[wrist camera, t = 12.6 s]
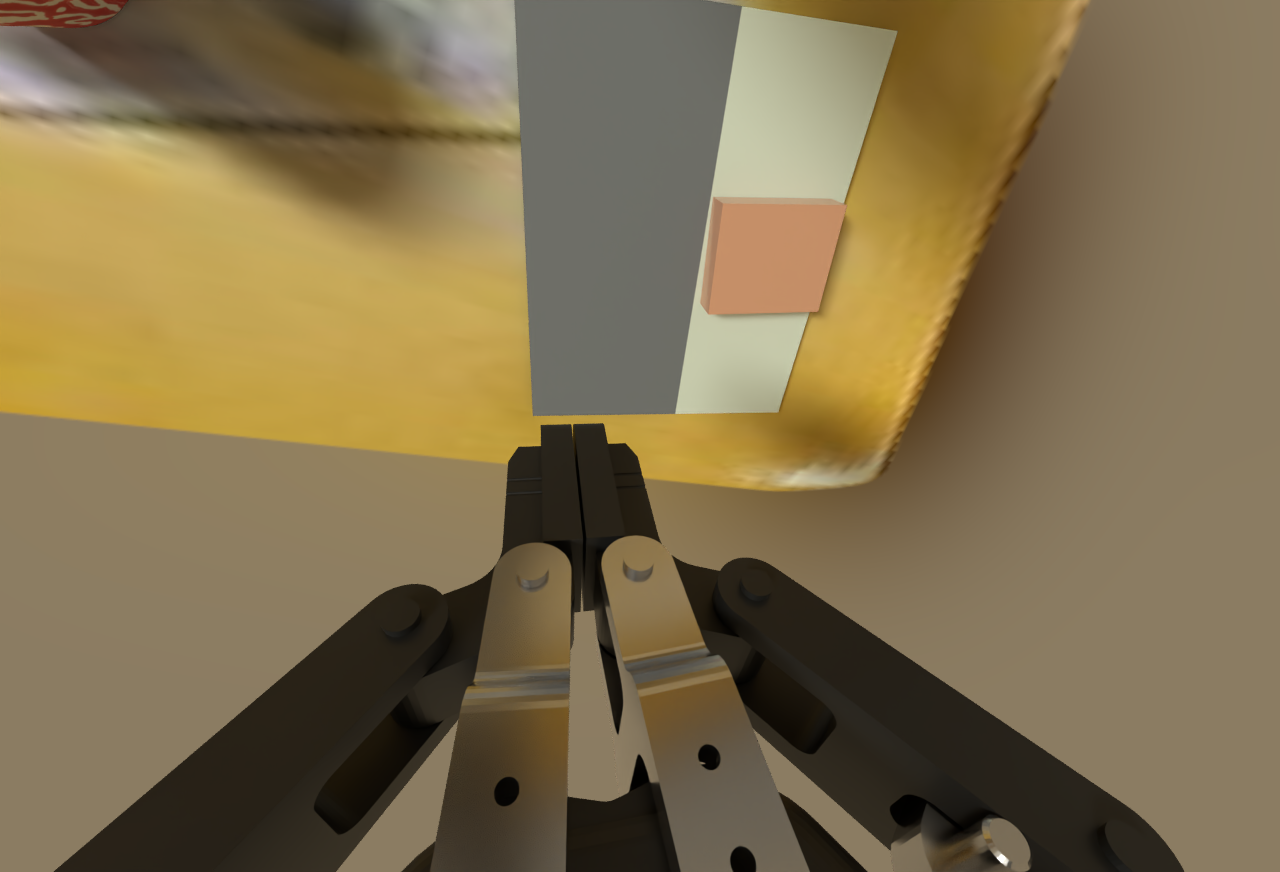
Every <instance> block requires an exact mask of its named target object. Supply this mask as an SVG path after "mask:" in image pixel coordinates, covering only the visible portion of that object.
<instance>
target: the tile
mask: <svg viewBox="0 0 1280 872" xmlns="http://www.w3.org/2000/svg"><path fill="white" fill-rule="evenodd" d="M846 208H847V205H846V204H843V203H841V202H838V201H836V200H833V199H825V198H758V197H713V201H712V209H711V218H710V226H709V234H708V243H707V251H706V260H705V268H704V276H703V285H702V293H701V301H700V304H701V305H702V307H703V308H704V309H705V311H706V312H707V313H708V315H714V314H752V313H791V312H818V310H819V306H820V303H821V299H822V295H823V292H824V288H825V284H826V281H827V277H828V274H829V270H830V266H831V263H832V259H833V255H834V252H835V248H836V244H837V241H838V237H839V233H840V230H841V226H842V222H843V219H844V215H845V211H846Z"/></svg>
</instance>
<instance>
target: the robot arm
mask: <svg viewBox="0 0 1280 872" xmlns="http://www.w3.org/2000/svg"><path fill="white" fill-rule="evenodd" d="M581 588H582V598H583V610H584V611H591V610H595V619H596V628H597V632H596V650H597V656H598V661H599V666H600V672H601V677H602V683H603V688H604V693H605V698H606V704H607V709H608V715H609V720H610V726H611V730H612V736H613V744H614V754H615V769H616V777H617V785H618V791H619V798H617V799H615V800H612V801H608V802H601V801H594V800H587V799H579V798H573V797H568V752H569V751H568V750H569V697H570V695H569V694H570V650H571V648H572V645H573V640H574V612H580V608H581ZM458 719H459V720H458ZM457 720H458V725H457V731H456V736H455V741H454V747H453V752H452V758H451V763H450V768H449V773H448V779H447V784H446V789H445V795H444V800H443V805H442V810H441V816H440V821H439V827H438V832H437V837H436V841H435V842H434V843H433V844H432V845H430V846H429V847H428V848H427V849H426V850H424V851H423V852H422V853H420V854H419V855H418V856H417V857H416V858H415V859H414V860H413V861H412V862H411V863H410V864H409V865H408V866H407V867H406V868H405V869H404V870H403V871H402V872H867V871H866V870H865V869H864V868H863V867H862V866H861V865H860V864H859V863H858V862H857V861H856V860H855V859H854V858H853V857H852V856H851V855H850V854H849V853H848V852H847V851H846V850H845V849H844V848H843V847H842V846H841V845H840V844H839V843H838V842H837V841H836V840H835V839H834V838H833V837H832V836H831V835H830V834H829V833H828V832H827V831H825V829H824V828H823V827H822V826H821V825H820V824H819V823H818V822H817V821H815V820H814V819H813V818H812V817H811V816H810V815H809V814H808V813H807V812H806V811H805V810H804V809H802V808H801V807H799V806H798V805H797V804H796V803H795V802H793V801H792V800H790V799H789V798H788V797H786V796H784V795H783V794H781V793H779V792H778V790H777V788H776V786H775V783H774V780H773V778H772V776H771V773H770V771H769V768H768V765H767V763H766V760H765V758H764V755H763V753H762V750H761V748H760V745H759V743H758V740H757V738H756V735H755V733H754V730H755V731H756V732H758V733H759V734H760V735H761V736H762V737H763V738H764V739H765V740H767V741H768V742H769V743H770V744H771V745H772V746H773V747H774V748H776V749H777V750H778V751H779V752H780V753H781V754H782V755H783V756H785V757H786V758H787V759H788V760H789V761H790V762H791V763H792V764H793V765H795V766H796V767H797V768H798V769H799V770H800V771H801V772H802V773H804V774H805V775H806V776H807V777H808V778H809V779H811V781H813V782H814V783H815V784H816V785H817V786H818V787H819V788H821V789H822V790H823V791H824V792H825V793H826V794H827V795H828V796H829V797H831V798H832V799H833V800H834V801H835V802H836V803H837V804H838V805H840V806H841V807H842V808H843V809H844V810H845V811H846V812H847V813H849V814H850V815H851V816H852V817H853V818H854V819H856V820H857V821H858V822H859V823H860V824H861V825H862V826H863V827H864V828H866V829H867V830H868V831H869V832H870V833H871V834H872V835H873V836H874V837H876V838H877V839H878V840H879V841H880V842H881V843H882V844H883V845H885V846H886V847H887V848H888V849H889V850H890V851H891V861H892V866H893V871H894V872H1184V870H1183V868H1182V866H1181V865H1180V863H1179V861H1178V860H1177V858H1176V857H1175V855H1174V853H1173V852H1172V851H1171V849H1170V848H1169V847H1168V845H1167V844H1166V843H1165V842H1164V840H1163V839H1162V838H1161V837H1160V836H1159V835H1158V834H1157V832H1156V831H1155V830H1154V829H1153V828H1152V827H1151V826H1150V825H1149V824H1148V823H1147V822H1146V821H1145V820H1143V819H1142V818H1141V817H1140V816H1139V815H1138V814H1137V813H1135V812H1134V811H1133V810H1131V809H1130V808H1129V807H1127V806H1126V805H1125V804H1123V803H1121V802H1120V801H1119V800H1117V799H1116V798H1114V797H1112V796H1111V795H1110V794H1108V793H1107V792H1105V791H1104V790H1102V789H1101V788H1100V787H1098V786H1097V785H1095V784H1094V783H1092V782H1090V781H1089V780H1088V779H1086V778H1085V777H1083V776H1082V775H1080V774H1079V773H1077V772H1076V771H1074V770H1073V769H1071V768H1070V767H1069V766H1067V765H1066V764H1064V763H1063V762H1061V761H1060V760H1058V759H1057V758H1055V757H1054V756H1052V755H1051V754H1049V753H1047V752H1046V751H1045V750H1043V749H1042V748H1040V747H1039V746H1038V745H1036V744H1035V743H1033V742H1032V741H1030V740H1029V739H1027V738H1026V737H1024V736H1023V735H1021V734H1020V733H1018V732H1017V731H1015V730H1014V729H1012V728H1011V727H1009V726H1008V725H1007V724H1005V723H1003V722H1002V721H1001V720H999V719H998V718H996V717H995V716H993V715H992V714H990V713H989V712H987V711H986V710H984V709H983V708H981V707H980V706H978V705H977V704H975V703H974V702H973V701H971V700H970V699H968V698H967V697H965V696H964V695H962V694H961V693H959V692H958V691H956V690H955V689H953V688H952V687H950V686H949V685H947V684H946V683H944V682H943V681H941V680H940V679H939V678H937V677H935V676H934V675H933V674H931V673H930V672H928V671H927V670H925V669H923V668H922V667H921V666H919V665H918V664H916V663H915V662H913V661H912V660H911V659H909V658H908V657H906V656H905V655H903V654H902V653H900V652H899V651H897V650H896V649H894V648H893V647H891V646H890V645H888V644H887V643H885V642H884V641H882V640H881V639H880V638H878V637H877V636H875V635H873V634H872V633H871V632H869V631H868V630H866V629H865V628H863V627H862V626H860V625H859V624H857V623H856V622H854V621H853V620H851V619H850V618H848V617H847V616H845V615H844V614H843V613H841V612H839V611H838V610H837V609H835V608H834V607H832V606H831V605H829V604H828V603H826V602H825V601H823V600H822V599H820V598H819V597H817V596H816V595H814V594H813V593H812V592H810V591H808V590H807V589H806V588H804V587H802V586H801V585H800V584H798V583H797V582H795V581H794V580H792V579H791V578H789V577H788V576H786V575H785V574H783V573H782V572H781V571H779V570H778V569H776V568H775V567H773V566H771V565H770V564H768V563H766V562H764V561H761V560H758V559H753V558H738V559H734V560H732V561H730V562H728V563H727V564H725V565H724V566H723V568H722V569H721V571H717V570H712V569H707V568H703V567H698V566H693V565H690V564H687V563H684V562H682V561H680V560H678V559H677V558H675V557H674V556H672V555H671V554H670V552H669V551H668V550H667V549H666V548H665V546H664V545H662V543H661V542H660V539H659V536H658V533H657V529H656V525H655V521H654V517H653V514H652V510H651V506H650V502H649V499H648V495H647V491H646V489H645V484H644V479H643V476H642V472H641V468H640V464H639V460H638V457H637V456H636V454H635V453H634V452H633V451H632V450H631V449H630V448H629V447H628V446H627V444H626V443H620V444H608V443H607V437H606V432H605V427H604V424H603V423H600V424H573V436H572V427H571V424H564V425H541V446H533V447H518V448H517V450H516V451H515V453H514V454H513V456H512V457H511V459H510V460H509V462H508V474H507V489H506V505H505V519H504V535H503V548H502V553H501V556H500V559H499V561H498V562H497V564H496V565H495V566H494V568H493V569H492V570H491V571H490V572H489V573H488V574H487V575H486V576H484V577H483V578H481V579H480V580H478V581H477V582H475V583H473V584H470V585H468V586H465V587H463V588H460V589H457V590H454V591H452V592H449V593H446V594H444V595H442V594H441V593H440V592H439V591H437V590H436V589H434V588H432V587H430V586H426V585H421V584H409V585H404V586H400V587H396V588H393V589H391V590H389V591H386V592H384V593H383V594H381V595H379V596H378V597H377V598H375V599H374V600H373V601H371V602H370V603H369V604H368V605H367V606H366V607H364V608H363V609H362V610H361V611H360V612H358V613H357V614H356V615H355V616H354V617H353V618H351V619H350V620H349V621H348V622H347V623H345V624H344V625H343V626H342V627H341V628H340V629H339V630H337V631H336V632H335V633H334V634H333V635H331V636H330V637H329V638H328V639H327V640H326V641H324V642H323V643H322V644H321V645H320V646H319V647H318V648H316V649H315V650H314V651H313V652H311V653H310V654H309V655H308V656H307V657H306V658H305V659H303V660H302V661H301V662H300V663H298V664H297V665H296V666H295V667H294V668H293V669H291V670H290V671H289V672H288V673H287V674H285V675H284V676H283V677H282V678H281V679H280V680H278V681H277V682H276V683H275V684H274V685H273V686H271V687H270V688H269V689H268V690H267V691H266V692H264V693H263V694H262V695H261V696H260V697H259V698H257V699H256V700H255V701H254V702H253V703H251V704H250V705H249V706H248V707H247V708H245V709H244V710H243V711H242V712H241V713H240V714H238V715H237V716H236V717H235V718H234V719H233V720H231V721H230V722H229V723H228V724H227V725H226V726H224V727H223V728H222V729H221V730H220V731H218V732H217V733H216V734H215V735H214V736H213V737H211V738H210V739H209V740H208V741H207V742H206V743H204V744H203V745H202V746H201V747H200V748H198V749H197V750H196V751H195V752H194V753H193V754H191V755H190V756H189V757H188V758H187V759H186V760H185V761H183V762H182V763H181V764H180V765H178V766H177V767H176V768H175V769H174V770H173V771H171V772H170V773H169V774H168V775H167V776H166V777H164V778H163V779H162V780H161V781H160V782H158V783H157V784H156V785H155V786H154V787H153V788H151V789H150V790H149V791H148V792H147V793H146V794H144V795H143V796H142V797H141V798H140V799H138V800H137V801H136V802H135V803H134V804H133V805H131V806H130V807H129V808H128V809H127V810H126V811H125V812H123V813H122V814H121V815H120V816H119V817H117V818H116V819H115V820H114V821H113V822H112V823H110V824H109V825H108V826H107V827H106V828H104V829H103V830H102V831H101V832H100V833H98V834H97V835H96V836H95V837H94V838H93V839H91V840H90V841H89V842H88V843H87V844H86V845H84V847H82V848H81V849H80V850H78V851H77V852H76V853H75V854H74V855H73V856H71V857H70V858H69V859H68V860H67V861H66V862H64V863H63V864H62V865H61V866H60V867H58V868H57V869H56V870H55V871H54V872H336V871H337V870H338V868H339V867H340V866H341V865H342V863H343V862H344V861H345V860H346V859H347V857H348V856H349V855H350V854H351V852H352V851H353V850H354V849H355V847H356V846H357V845H358V843H359V842H360V841H361V840H362V839H363V837H364V836H365V835H366V834H367V832H368V831H369V830H370V829H371V827H372V826H373V825H374V824H375V822H376V821H377V820H378V819H379V817H380V816H381V815H382V814H383V812H384V811H385V810H386V808H387V807H388V806H389V805H390V804H391V802H392V801H393V800H394V799H395V797H396V796H397V795H398V794H399V793H400V791H401V790H402V789H403V788H404V786H405V785H406V784H407V783H408V781H409V780H410V779H411V778H412V776H413V775H414V774H415V773H416V771H417V770H418V769H419V768H420V766H421V765H422V764H423V763H424V761H425V760H426V759H427V757H428V756H429V755H430V754H431V753H432V751H433V750H434V749H435V748H436V746H437V745H438V744H439V743H440V741H441V740H442V739H443V738H444V736H445V735H446V734H447V733H448V732H449V730H450V729H451V728H452V727H453V725H454V724H455V723H456V722H457ZM753 729H754V730H753Z"/></svg>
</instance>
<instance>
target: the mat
mask: <svg viewBox="0 0 1280 872" xmlns="http://www.w3.org/2000/svg"><path fill="white" fill-rule="evenodd" d="M515 20H516V43H517V66H518V88H519V111H520V133H521V156H522V179H523V201H524V224H525V246H526V269H527V292H528V314H529V337H530V359H531V382H532V405H533V416H550V415H622V414H693V413H765V412H778V411H779V408H780V405H781V401H782V398H783V395H784V392H785V389H786V385H787V382H788V379H789V376H790V373H791V370H792V366H793V363H794V360H795V357H796V354H797V350H798V347H799V344H800V341H801V338H802V334H803V331H804V328H805V325H806V322H807V319H808V315H809V312H791V313H752V314H714V315H708V313H707V312H706V311H705V309H704V308H703V307H702V305H701V304H700V301H701V293H702V285H703V276H704V268H705V260H706V251H707V243H708V234H709V226H710V218H711V209H712V201H713V197H758V198H825V199H833V200H836V201H838V202H841V203H843V204H844V201H845V198H846V194H847V191H848V188H849V185H850V182H851V179H852V175H853V172H854V169H855V166H856V163H857V159H858V156H859V153H860V150H861V147H862V144H863V140H864V137H865V134H866V131H867V128H868V124H869V121H870V118H871V115H872V112H873V109H874V105H875V102H876V99H877V96H878V93H879V89H880V86H881V83H882V80H883V77H884V74H885V70H886V67H887V64H888V61H889V58H890V54H891V51H892V48H893V45H894V42H895V39H896V35H897V32H898V31H894V30H888V29H882V28H875V27H869V26H863V25H857V24H850V23H844V22H838V21H831V20H825V19H819V18H813V17H806V16H800V15H794V14H787V13H781V12H775V11H769V10H762V9H756V8H750V7H743V6H737V5H731V4H724V3H718V2H712V1H706V0H515Z"/></svg>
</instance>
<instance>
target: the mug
mask: <svg viewBox="0 0 1280 872" xmlns="http://www.w3.org/2000/svg"><path fill="white" fill-rule="evenodd" d="M127 1H128V0H0V26H34V27H54V28H79V27H88V26H93V25H98V24H100V23H103V22H105V21H107V20H109V19H110V18H112V17H113V16H115V15H116V14H117V13H118V12H119V11H120V10H121V9H122V8H123V6H124V5H125V4H126V2H127Z"/></svg>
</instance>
